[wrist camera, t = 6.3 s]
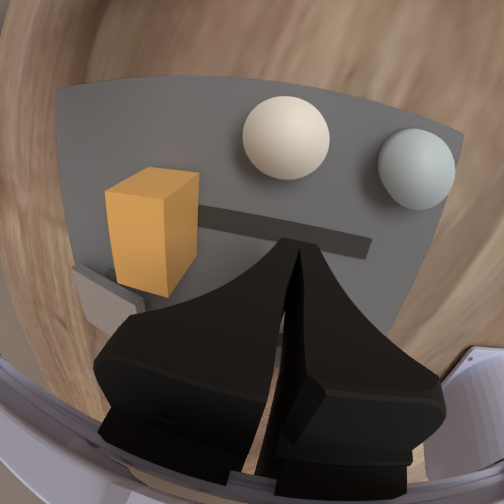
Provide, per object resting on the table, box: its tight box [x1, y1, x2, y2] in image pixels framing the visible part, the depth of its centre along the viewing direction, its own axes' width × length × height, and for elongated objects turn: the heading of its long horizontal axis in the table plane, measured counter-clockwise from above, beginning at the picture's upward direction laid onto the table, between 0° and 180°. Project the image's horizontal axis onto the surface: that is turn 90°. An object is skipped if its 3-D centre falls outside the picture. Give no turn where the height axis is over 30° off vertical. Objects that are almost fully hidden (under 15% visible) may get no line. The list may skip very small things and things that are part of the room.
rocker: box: [71, 263, 146, 337], centre depth 16 cm, size 4×6×1 cm
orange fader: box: [105, 167, 200, 298], centre depth 11 cm, size 4×2×3 cm, turn 174°
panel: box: [56, 76, 464, 367], centre depth 14 cm, size 15×19×2 cm
